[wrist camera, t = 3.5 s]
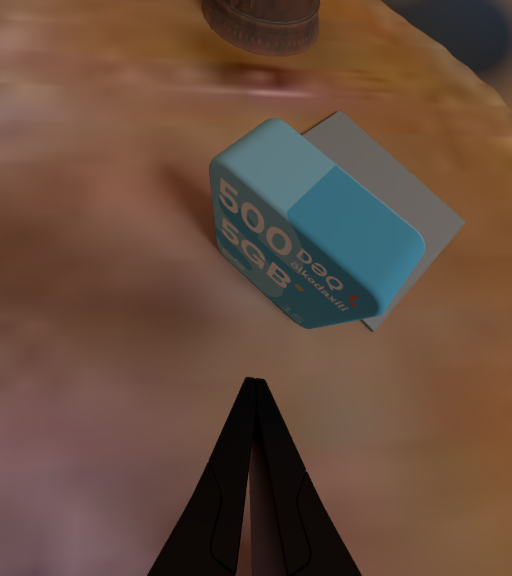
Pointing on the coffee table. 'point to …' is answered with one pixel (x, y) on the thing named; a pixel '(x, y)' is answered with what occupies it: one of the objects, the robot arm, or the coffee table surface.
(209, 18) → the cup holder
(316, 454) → the coffee table surface
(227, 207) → the data package
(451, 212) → the slate rubber mat
